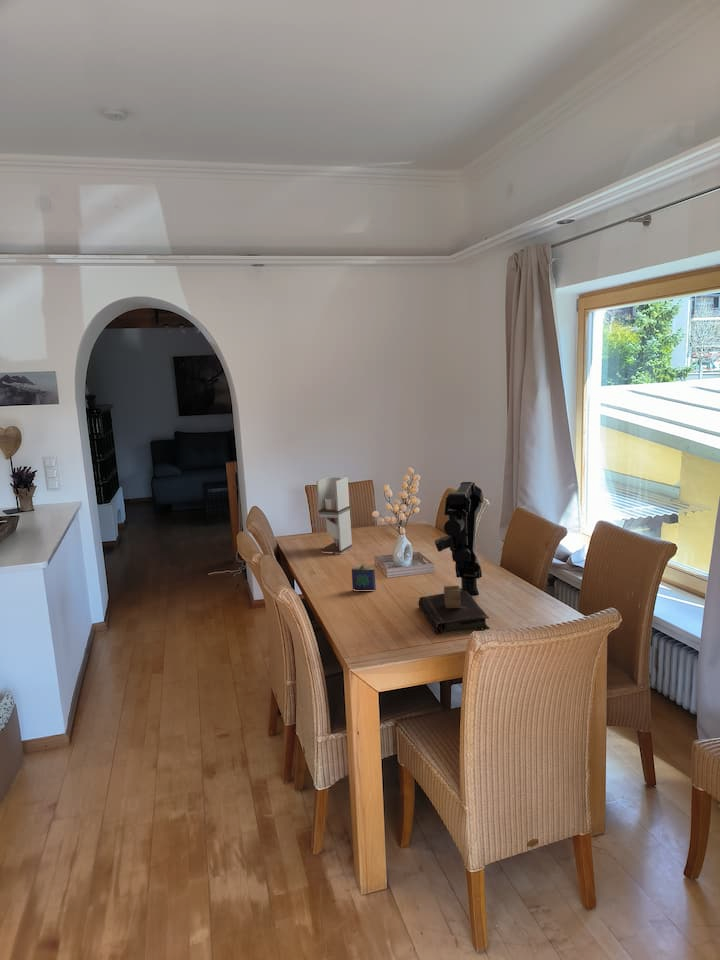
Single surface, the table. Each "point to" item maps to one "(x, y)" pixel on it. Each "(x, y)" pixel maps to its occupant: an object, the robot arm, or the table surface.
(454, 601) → the metal block
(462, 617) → the diary
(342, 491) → the display case
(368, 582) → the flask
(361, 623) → the table surface
